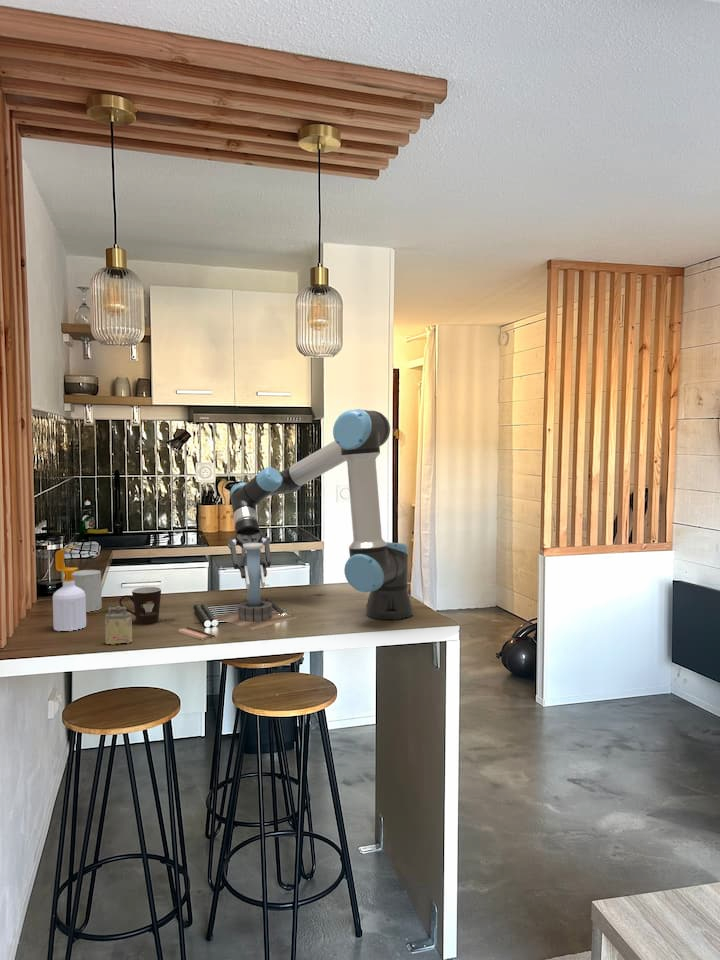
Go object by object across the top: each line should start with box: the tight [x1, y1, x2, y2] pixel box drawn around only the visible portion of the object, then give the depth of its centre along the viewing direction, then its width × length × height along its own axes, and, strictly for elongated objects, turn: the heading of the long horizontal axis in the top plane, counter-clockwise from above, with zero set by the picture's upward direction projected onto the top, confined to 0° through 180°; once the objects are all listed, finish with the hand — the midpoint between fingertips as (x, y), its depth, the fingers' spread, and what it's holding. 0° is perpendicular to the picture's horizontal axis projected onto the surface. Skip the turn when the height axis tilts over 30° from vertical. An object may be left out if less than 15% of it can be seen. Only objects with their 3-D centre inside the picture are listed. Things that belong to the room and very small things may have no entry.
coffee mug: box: [118, 586, 162, 626], centre depth 215 cm, size 12×9×10 cm
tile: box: [178, 626, 216, 641], centre depth 205 cm, size 12×12×1 cm
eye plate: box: [211, 600, 300, 630], centre depth 215 cm, size 20×18×6 cm
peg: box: [243, 542, 264, 607], centre depth 214 cm, size 6×6×19 cm
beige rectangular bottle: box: [104, 605, 133, 645], centre depth 194 cm, size 7×4×10 cm, turn 101°
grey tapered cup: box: [72, 569, 103, 613], centre depth 231 cm, size 10×10×12 cm
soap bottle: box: [52, 545, 87, 632], centre depth 208 cm, size 9×9×25 cm
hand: (255, 585), depth 211 cm, fingers closed on peg, 4 cm apart
